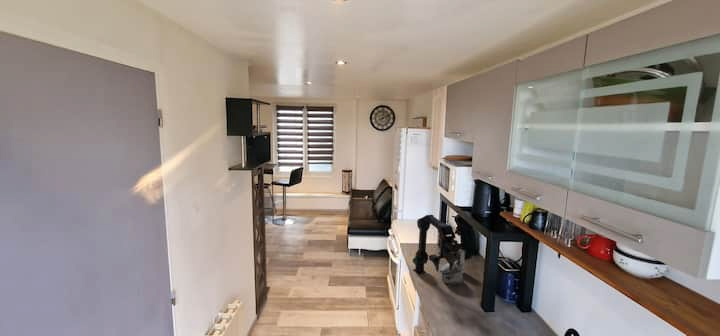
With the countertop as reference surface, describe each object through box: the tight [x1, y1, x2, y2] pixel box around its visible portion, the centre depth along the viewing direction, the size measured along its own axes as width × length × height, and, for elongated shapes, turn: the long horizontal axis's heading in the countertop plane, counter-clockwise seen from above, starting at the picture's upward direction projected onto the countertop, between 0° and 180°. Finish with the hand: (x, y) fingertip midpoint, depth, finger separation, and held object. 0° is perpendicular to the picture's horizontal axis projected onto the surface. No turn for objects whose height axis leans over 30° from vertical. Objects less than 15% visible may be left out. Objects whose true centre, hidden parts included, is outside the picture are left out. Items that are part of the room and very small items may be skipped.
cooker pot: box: [439, 267, 464, 288], centre depth 193 cm, size 14×17×6 cm
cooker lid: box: [439, 260, 458, 271], centre depth 193 cm, size 14×14×2 cm
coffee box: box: [452, 248, 466, 274], centre depth 205 cm, size 9×6×16 cm
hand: (444, 270), depth 177 cm, fingers open, 9 cm apart
